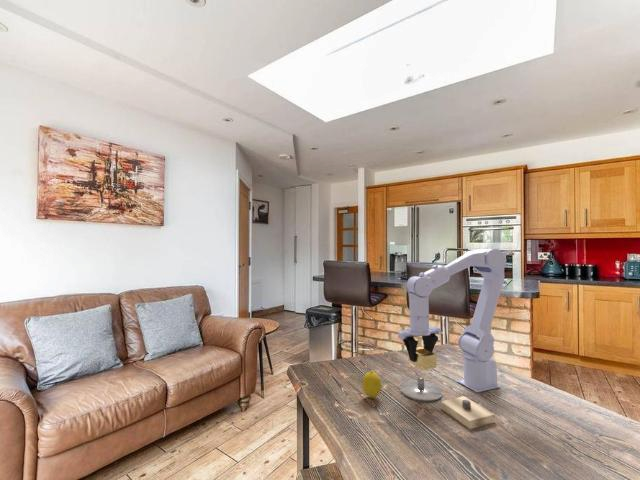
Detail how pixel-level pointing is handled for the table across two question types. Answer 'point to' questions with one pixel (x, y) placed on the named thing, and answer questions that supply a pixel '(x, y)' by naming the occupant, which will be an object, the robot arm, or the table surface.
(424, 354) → the gold open box
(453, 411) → the stand
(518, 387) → the table surface
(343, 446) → the table surface
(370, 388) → the lemon
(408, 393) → the hub
